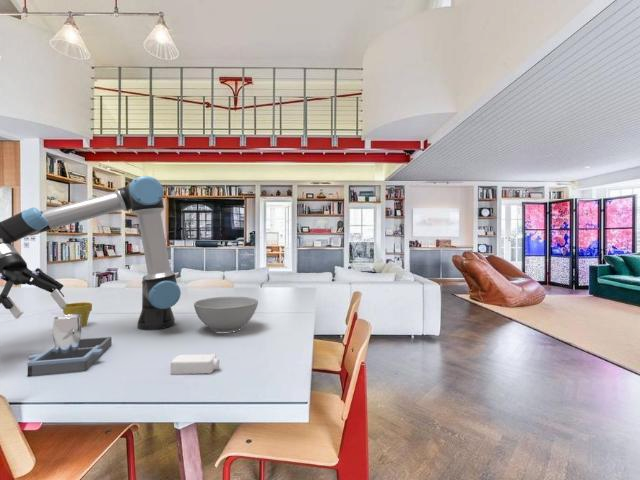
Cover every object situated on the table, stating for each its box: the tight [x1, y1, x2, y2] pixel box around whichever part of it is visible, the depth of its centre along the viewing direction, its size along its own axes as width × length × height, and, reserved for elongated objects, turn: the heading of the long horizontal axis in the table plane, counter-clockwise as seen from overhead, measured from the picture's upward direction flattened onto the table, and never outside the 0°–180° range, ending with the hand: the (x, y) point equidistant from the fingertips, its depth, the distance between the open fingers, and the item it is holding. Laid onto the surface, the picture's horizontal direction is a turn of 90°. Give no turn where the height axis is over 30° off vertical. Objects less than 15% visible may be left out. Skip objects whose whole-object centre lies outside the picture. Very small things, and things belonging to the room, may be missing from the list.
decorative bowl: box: [193, 296, 259, 333], centre depth 143 cm, size 27×27×12 cm
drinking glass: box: [52, 314, 82, 359], centre depth 100 cm, size 7×7×15 cm
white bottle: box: [170, 353, 220, 375], centre depth 98 cm, size 6×13×4 cm, turn 93°
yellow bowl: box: [62, 301, 93, 328], centre depth 145 cm, size 10×10×10 cm
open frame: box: [26, 336, 113, 377], centre depth 106 cm, size 18×25×4 cm
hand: (43, 310), depth 102 cm, fingers open, 13 cm apart
